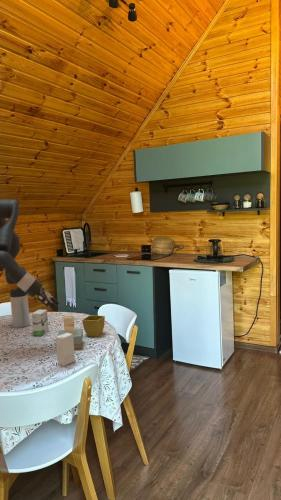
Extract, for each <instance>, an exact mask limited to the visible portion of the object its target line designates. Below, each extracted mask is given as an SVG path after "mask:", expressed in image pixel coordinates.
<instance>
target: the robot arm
mask: <svg viewBox="0 0 281 500" xmlns="http://www.w3.org/2000/svg"><path fill="white" fill-rule="evenodd" d="M19 216H20V204H19V201H18V200H17V199H7V198H4V199H0V272H3V271H4V278H5V281H6V283H7V284H9V285H16V286H17V287H15V288H14V289H12V290H11V291H9V299H10V310H11V319H12V320H11V321H12V327H13V328H15V329H17V328H19V329H20V328H26V327H29V326H30V325H31V321H30V320H31V319H30V309H29V308H30V307H29V298H28V296H30V297H31V298H34V297H35V296H37V298H36V299H37V300H38V301H40V302H41V303H42V304H43V305H44V306H46V307H47V308H48V307H49V308H51V309H52V310H53V311H54V312H56V311H57V310H59V308H60V307H59V306H58V305H60V302H59V301H58V300H57V299H56V298H54V296H53V294H51V293H50V292H49V291H47V290H46V289H45V288H44V287H43V286H44V284H43V283H42V282H41V281H39V280H38V279H37V278H36V277H34V275H32V274H31V273H29V272H27V271H26V268H25V267H24V266H20V264H18V262H17V261H16V258H17V256H19V255H18V254H19V253H20V251H21V243H20V237H19V235H18V234H17V233H16V232H15V229H16V225H17V223H18V219H19ZM6 219H8V220H6Z"/></svg>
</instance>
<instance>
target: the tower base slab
mask: <svg viewBox="0 0 281 500" xmlns="http://www.w3.org/2000/svg"><path fill="white" fill-rule="evenodd" d="M79 350H84V346H83V343H82V344H74V351H79Z"/></svg>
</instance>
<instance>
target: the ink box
mask: <svg viewBox="0 0 281 500" xmlns="http://www.w3.org/2000/svg"><path fill="white" fill-rule="evenodd" d="M48 318H49V316H48V309H36V310H35V311H34V312H32V313H31V321H32V333H33V334H32V335H33V337H42V336H44V335H45V334H47V333H48V332H49V331H50V330H49V319H48Z"/></svg>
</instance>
